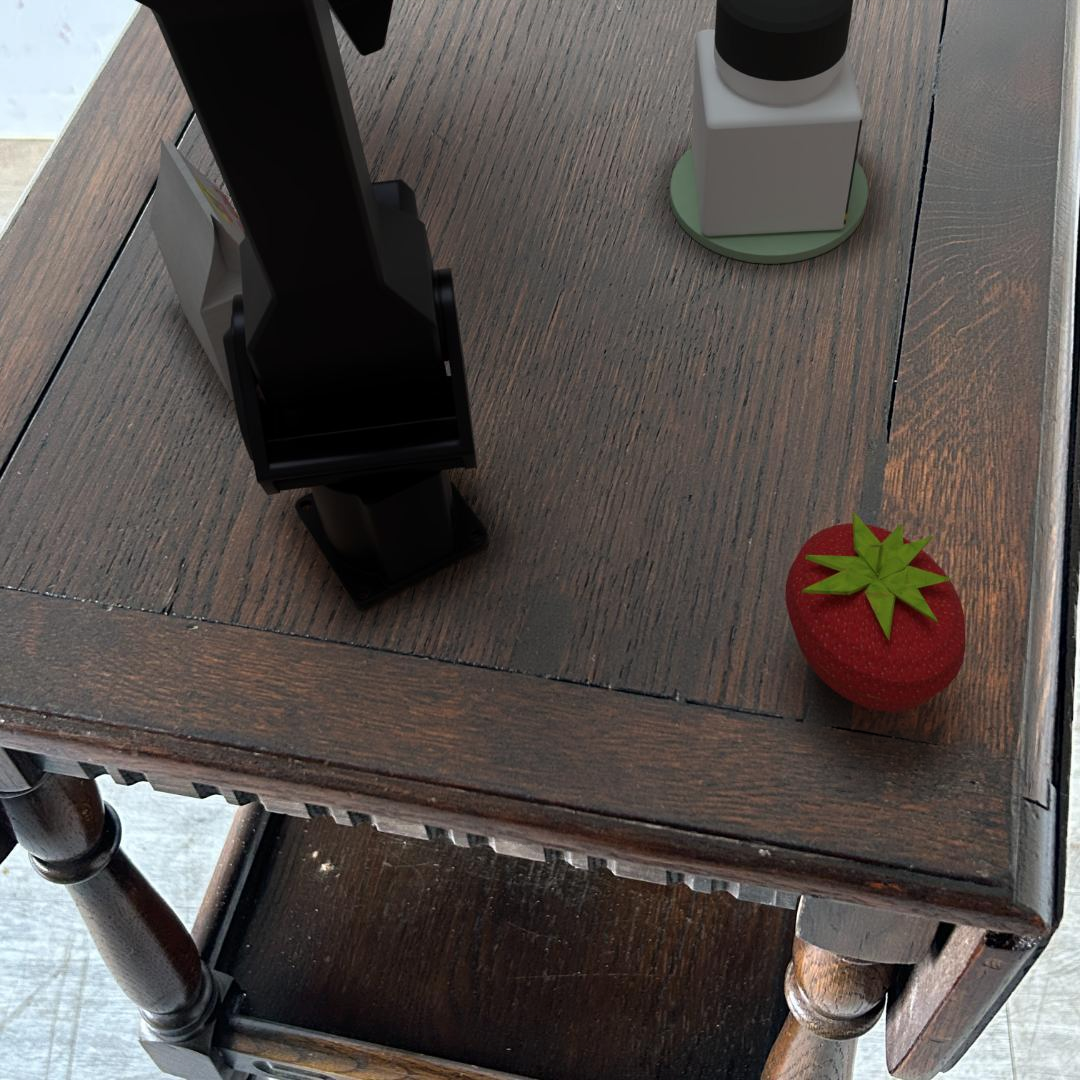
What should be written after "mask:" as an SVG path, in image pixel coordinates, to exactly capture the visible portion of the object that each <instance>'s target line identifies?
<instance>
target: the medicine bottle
mask: <svg viewBox="0 0 1080 1080" xmlns="http://www.w3.org/2000/svg"><path fill="white" fill-rule="evenodd" d="M853 6H854V0H716V3H715V19H714V20H715V21H714V22H715V24H714V29H713V28H712V29H701V30H700V31H698V32H697V33H696V36H695V45H694V69H693V70H694V72H693V96H692V97H693V98H692V117H691V118H692V119H691V120H692V122H691V143H690V144H691V145H690V146H691V147H692V154H693V163H694V171H695V180H696V189H697V198H698V207H699V216H700V224H701V231H702V233H703V234H704V235H705V236H724V235H744V234H763V233H783V232H803V231H822V230H839V229H842V228H843V227H844V226H845V224H846V218H847V212H848V206H849V200H850V194H851V188H852V181H853V175H854V169H855V163H856V160H857V156H858V149H859V144H860V138H861V132H862V125H863V120H864V113H863V107H862V104H861V99H860V95H859V90H858V85H857V81H856V76H855V72H854V68H853V63H852V58H851V55H850V50H849V46H848V40H849V34H850V28H851V20H852V13H853Z"/></svg>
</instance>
